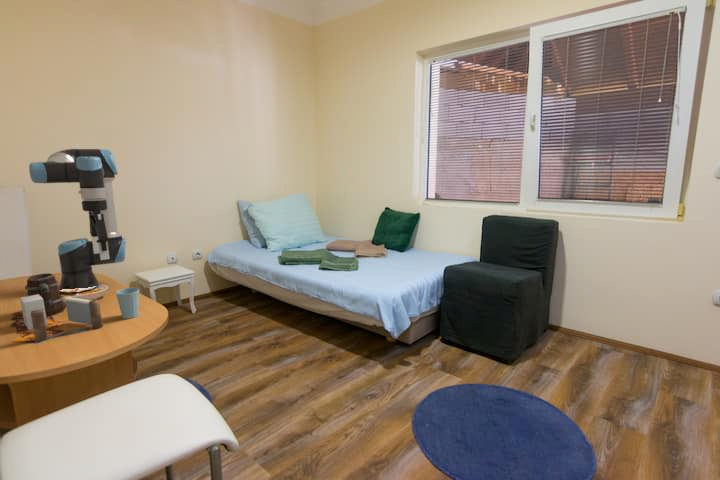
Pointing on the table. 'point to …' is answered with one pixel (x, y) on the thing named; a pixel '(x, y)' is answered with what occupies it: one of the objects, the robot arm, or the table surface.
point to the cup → (128, 302)
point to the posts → (41, 332)
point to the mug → (46, 292)
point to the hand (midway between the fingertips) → (101, 256)
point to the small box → (31, 308)
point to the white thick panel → (78, 310)
